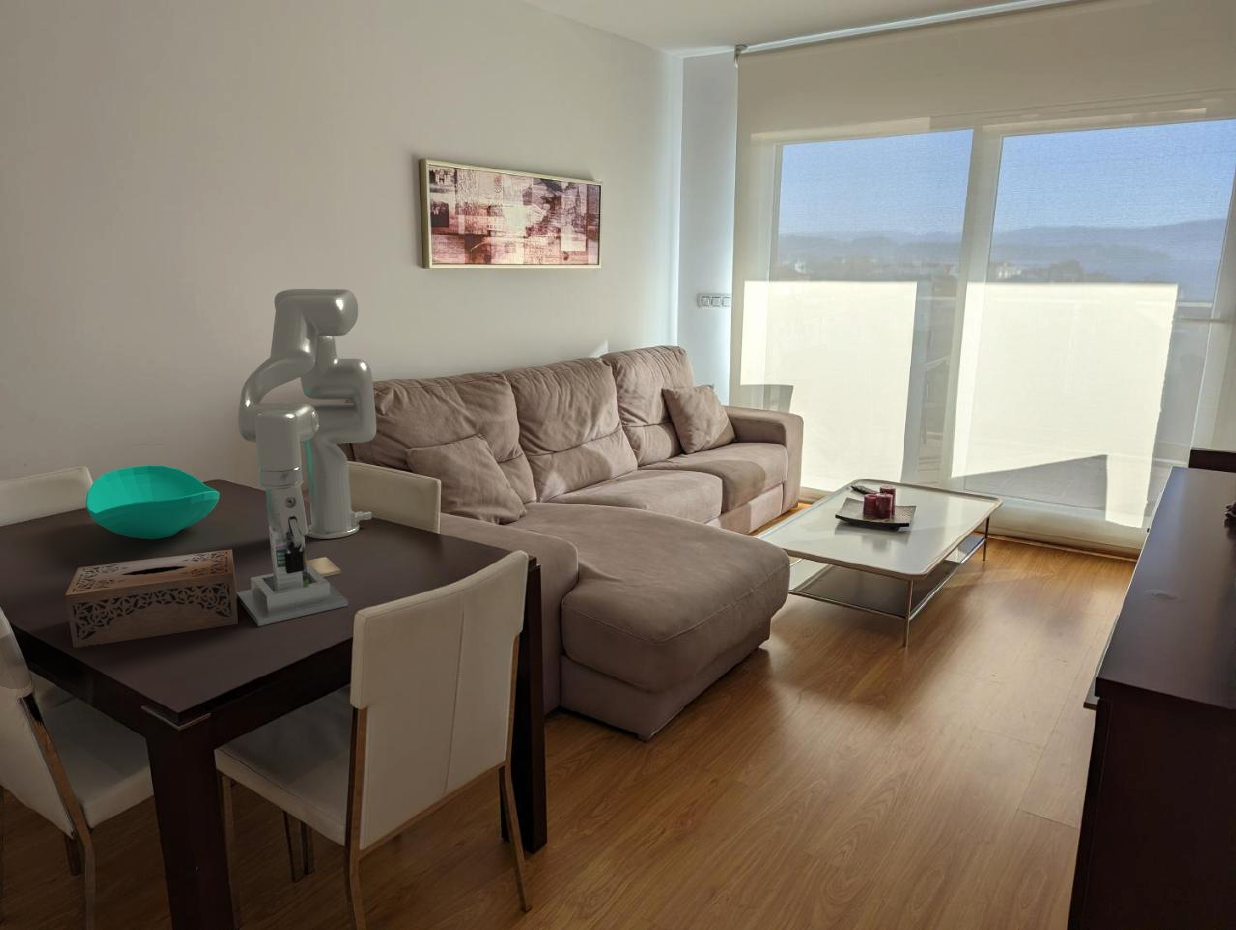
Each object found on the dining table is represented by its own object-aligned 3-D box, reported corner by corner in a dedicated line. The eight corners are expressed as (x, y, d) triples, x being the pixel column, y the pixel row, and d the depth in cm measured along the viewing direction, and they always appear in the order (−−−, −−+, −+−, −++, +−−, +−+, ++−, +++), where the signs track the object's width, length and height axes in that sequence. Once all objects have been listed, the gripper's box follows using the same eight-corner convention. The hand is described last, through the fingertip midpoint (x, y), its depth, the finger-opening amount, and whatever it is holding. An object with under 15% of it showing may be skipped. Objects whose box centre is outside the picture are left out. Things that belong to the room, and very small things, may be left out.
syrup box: (278, 606, 162) (271, 533, 159) (275, 595, 167) (268, 524, 164) (310, 600, 165) (304, 529, 161) (305, 590, 170) (299, 520, 166)
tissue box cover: (236, 597, 169) (231, 549, 167) (238, 625, 156) (232, 573, 154) (85, 618, 159) (78, 567, 157) (73, 649, 146) (65, 595, 144)
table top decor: (245, 542, 201) (239, 488, 198) (112, 569, 184) (104, 509, 180) (195, 506, 230) (190, 458, 227) (76, 526, 213) (68, 475, 210)
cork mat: (326, 560, 189) (325, 557, 189) (341, 573, 182) (340, 569, 181) (279, 569, 184) (279, 566, 184) (292, 583, 176) (292, 579, 176)
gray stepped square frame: (321, 580, 177) (319, 560, 176) (347, 605, 165) (346, 583, 163) (237, 598, 168) (234, 576, 167) (258, 626, 155) (256, 603, 154)
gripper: (315, 483, 156) (323, 575, 160) (288, 464, 169) (296, 550, 173) (273, 489, 151) (282, 584, 156) (248, 469, 165) (257, 557, 169)
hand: (289, 565), depth 165 cm, fingers closed on syrup box, 6 cm apart
